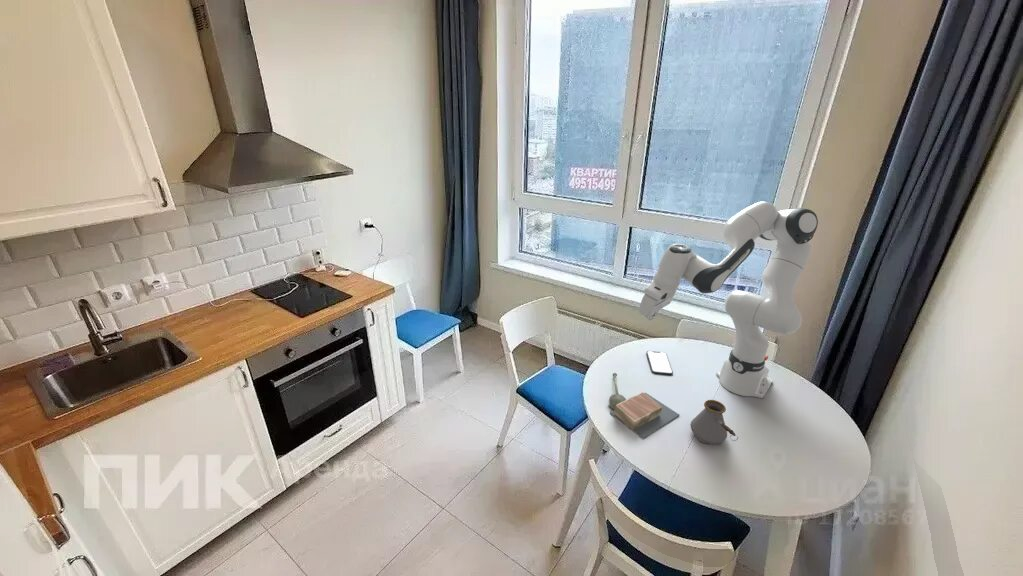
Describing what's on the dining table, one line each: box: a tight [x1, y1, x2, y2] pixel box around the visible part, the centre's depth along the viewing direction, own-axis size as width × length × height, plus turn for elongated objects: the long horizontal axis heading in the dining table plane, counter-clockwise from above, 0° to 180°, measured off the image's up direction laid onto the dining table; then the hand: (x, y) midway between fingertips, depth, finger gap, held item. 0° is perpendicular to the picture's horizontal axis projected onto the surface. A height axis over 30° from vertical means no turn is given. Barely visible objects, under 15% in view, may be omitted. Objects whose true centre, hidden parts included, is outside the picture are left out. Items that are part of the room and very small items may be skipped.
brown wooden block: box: [614, 391, 662, 431], centre depth 146 cm, size 4×9×14 cm
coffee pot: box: [689, 399, 739, 445], centre depth 132 cm, size 21×12×15 cm, turn 174°
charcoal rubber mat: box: [609, 392, 680, 440], centre depth 148 cm, size 20×15×1 cm
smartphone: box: [646, 350, 674, 376], centre depth 178 cm, size 9×2×16 cm
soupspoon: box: [608, 372, 627, 410], centre depth 159 cm, size 22×3×7 cm
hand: (650, 318), depth 154 cm, fingers closed
